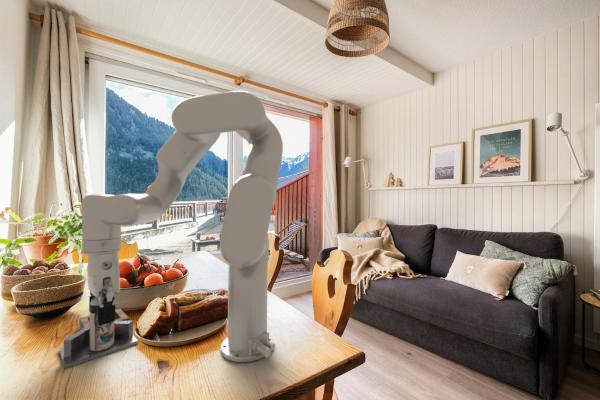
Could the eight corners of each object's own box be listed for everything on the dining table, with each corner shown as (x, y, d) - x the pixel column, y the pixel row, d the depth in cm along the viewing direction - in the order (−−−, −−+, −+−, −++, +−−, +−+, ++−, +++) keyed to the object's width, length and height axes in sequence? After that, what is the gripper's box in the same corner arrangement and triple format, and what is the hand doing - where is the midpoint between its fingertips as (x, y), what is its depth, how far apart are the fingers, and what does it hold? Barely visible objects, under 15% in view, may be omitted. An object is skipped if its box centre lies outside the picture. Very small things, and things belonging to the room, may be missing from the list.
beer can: (98, 354, 61) (99, 302, 61) (84, 350, 63) (84, 299, 63) (118, 343, 66) (119, 295, 66) (105, 340, 68) (105, 292, 68)
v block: (137, 343, 68) (138, 324, 68) (64, 369, 57) (64, 346, 57) (126, 330, 74) (126, 313, 74) (59, 351, 64) (59, 331, 64)
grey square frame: (128, 328, 76) (129, 317, 76) (85, 341, 69) (85, 329, 69) (119, 317, 82) (119, 308, 82) (79, 328, 75) (79, 318, 75)
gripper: (130, 248, 61) (130, 322, 61) (111, 240, 73) (111, 302, 73) (89, 253, 56) (89, 334, 56) (76, 243, 68) (75, 310, 68)
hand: (101, 316), depth 65 cm, fingers open, 9 cm apart
